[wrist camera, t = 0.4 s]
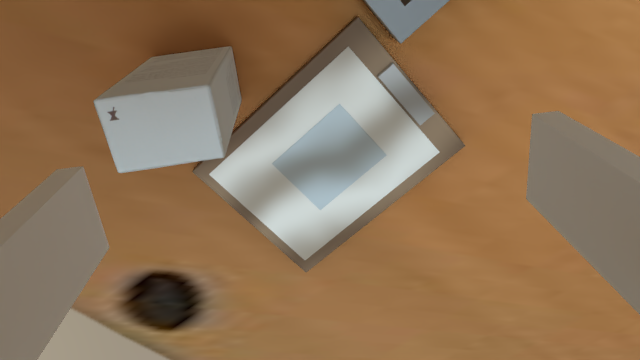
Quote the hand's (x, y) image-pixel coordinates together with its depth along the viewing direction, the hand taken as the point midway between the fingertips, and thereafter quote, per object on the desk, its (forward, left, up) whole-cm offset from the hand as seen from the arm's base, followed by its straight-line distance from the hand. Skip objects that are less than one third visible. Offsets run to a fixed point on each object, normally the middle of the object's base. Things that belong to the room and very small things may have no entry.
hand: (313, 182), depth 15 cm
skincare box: (-4, -7, -24) cm, 25 cm away
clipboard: (+7, -4, -23) cm, 25 cm away
